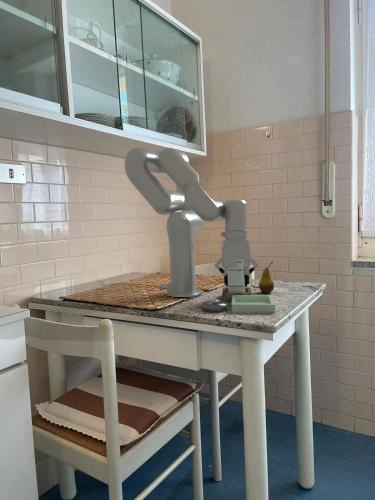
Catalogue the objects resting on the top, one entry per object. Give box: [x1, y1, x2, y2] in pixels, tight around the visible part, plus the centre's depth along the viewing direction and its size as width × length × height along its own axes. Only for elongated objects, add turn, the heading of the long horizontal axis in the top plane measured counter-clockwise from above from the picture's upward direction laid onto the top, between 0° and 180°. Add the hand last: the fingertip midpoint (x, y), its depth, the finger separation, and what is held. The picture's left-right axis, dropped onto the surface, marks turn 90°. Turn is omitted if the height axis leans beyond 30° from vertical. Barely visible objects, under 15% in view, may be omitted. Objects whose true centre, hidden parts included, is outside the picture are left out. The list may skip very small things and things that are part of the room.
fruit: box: [258, 261, 275, 294], centre depth 142 cm, size 6×6×12 cm
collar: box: [221, 286, 253, 303], centre depth 134 cm, size 10×10×3 cm
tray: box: [231, 294, 276, 314], centre depth 122 cm, size 13×13×2 cm
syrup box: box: [227, 259, 246, 293], centre depth 134 cm, size 6×6×14 cm
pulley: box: [201, 298, 228, 314], centre depth 120 cm, size 8×8×3 cm
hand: (236, 285), depth 134 cm, fingers closed on syrup box, 6 cm apart
